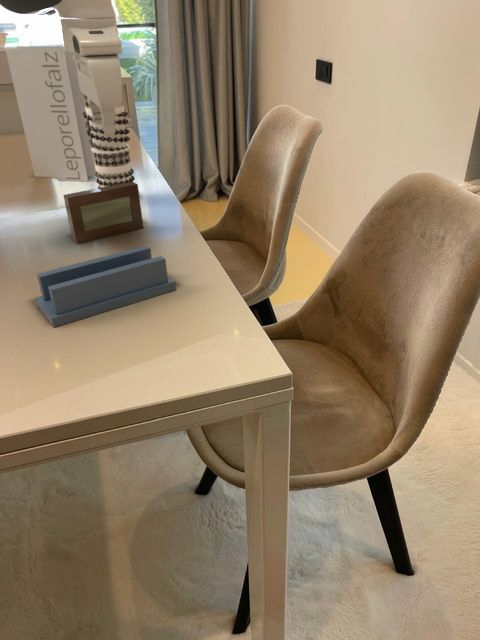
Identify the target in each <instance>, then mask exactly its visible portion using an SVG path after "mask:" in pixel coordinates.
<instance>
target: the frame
mask: <svg viewBox="0 0 480 640" xmlns="http://www.w3.org/2000/svg"><path fill="white" fill-rule="evenodd" d="M62 195H63V201H64V205H65V210H66V214H67V215H66V216H67V221H68V224H69V229H70V234H71V240H72V242H74V243H75V244H76V245H79V244H84V243H89V242H92V241H96V240H100V239H105V238H109V237H112V236H117V235H122V234H126V233H130V232H133V231H139V230H142V229H144V222H143V214H142V207H141V199H140V191H139V185H138V183H136V182H135V181H133V182H128V183H122V184H117V185H112V186H107V187H102V188H98V187H97V188H92V189H87V190H82V191H77V192H70V193H67V194H62Z"/></svg>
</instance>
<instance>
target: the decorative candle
mask: <svg viewBox="0 0 480 640" xmlns="http://www.w3.org/2000/svg"><path fill="white" fill-rule="evenodd" d="M83 96H84V104H85V105H84V108H85V112H84V113H83V117H84V118H86V120H87V122H86V123H85V126H86V128H87V129H88V130H87V135H88V136H89V137H90V140H89V143H90V145H91V151H92V153H93V159H94V166H95V176H94V177H97V178H96V184H98V186H97V188H102V187H107V186H112V185H117V184H122V183H128V182H135V180H136V178H135V175H133V174H134V173H135V170H134V169H133V166H132V161H131V157H130V149H131V145H130V144H129V142H130V140H131V138H130V137H129V136H128V134H129V133H130V129H128V128H127V127H126V125H127V124H129V119H127V118H126V117H128V115H129V112H128V111H126V110H125V107H124V106H125V105H124V104H123V103H122V105H121V107H119V108H114V109H115V131H116V132H115V134H109V135H107V134H106V133H105V132H104V131H103V125H102V124H96V123H95V122H94V121H93V116H92V111H91V108H90V105H89V101H88V97H87V96H85V95H84V94H83Z"/></svg>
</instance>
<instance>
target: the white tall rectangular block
mask: <svg viewBox="0 0 480 640" xmlns="http://www.w3.org/2000/svg"><path fill="white" fill-rule="evenodd" d="M4 50H5V55H6V58H7V63H8V67H9V71H10V76H11V79H12V85H13V88H14V93H15V98H16V101H17V106H18V111H19V114H20V118H21V119H20V120H21V123H22V127H23V128H22V129H23V132H24V136H25V140H26V144H27V149H28V153H29V158H30V162H31V166H32V170H33V171H32V172H33V174H34V177H35V178H54V179H56V180H57V181H59V182H89V177H96V176H95V172H96V168H95V160H94V154H93V152H92V151H91V147H92V146H91V145H90V143H89V140H90V139H91V137H90V136H88V135H87V130H88V129H87V128H86V126H85V123H86V122H87V119H86V118H84V117H83V113H84V112H86V110H85V102H84V98H83V93H82V92H81V90H80V86H79V81H78V74H77V67H76V63H75V62H74V55H73V52H66V51H65V50H64V45H63V46H62V45H61V46H60V45H59V46H58V45H57V46H52V45H48V46H46V45H45V46H43V45H42V46H40V45H39V46H37V45H36V46H33V45H32V46H31V45H27V46H25V45H22V46H20V45H19V46H18V45H17V46H16V47H11V48H9V47H8V48H5V49H4Z"/></svg>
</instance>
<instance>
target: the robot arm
mask: <svg viewBox="0 0 480 640" xmlns="http://www.w3.org/2000/svg"><path fill="white" fill-rule="evenodd" d="M0 6H1V7H3V8H4V9H5V10H7V11H9V12H11V13H13V14H15V15H20V16H26V17H27V16H37V17H50V16H52V15H54V14H56V13H57V15H58V20H59V27H60V31H61V38H62V44H63V46H64V50H65V51H66V52H73V55H74V62H75V63H76V67H77V74H78V81H79V86H80V90H81V92H82V95H83V96H84V95H85V96H87V97H88V101H89V105H90V108H91V111H92V116H93V121H94V122H95V123H96V124H102V125H103V131H104V132H105V133H106V134H107V135H109V134H115V132H116V131H115V109H114V108H119V107H121V105H122V104H123V84H122V83H123V82H122V81H123V80H122V70H121V67H122V66H121V61H120V57H119V55H122V54H123V46H122V45H123V44H122V40H121V38H120V36H119V31H118V23H117V22H118V21H117V15H116V12H115V9H114V6H113V2H112V0H0ZM85 96H84V97H85Z"/></svg>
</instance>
